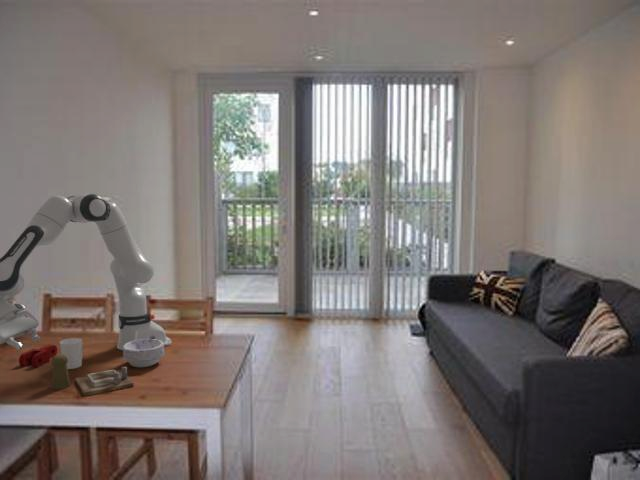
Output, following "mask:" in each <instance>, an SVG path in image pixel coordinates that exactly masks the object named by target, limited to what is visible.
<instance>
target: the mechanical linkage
mask: <svg viewBox="0 0 640 480" xmlns="http://www.w3.org/2000/svg"><path fill="white" fill-rule="evenodd" d="M56 355H58V348H57V345H55V344H48V345H46V346H43V347H40V348H32V349H29V350H27V351H25V352H23V353H21V354H20V356H19V358H18V364H19V366H20V367H28V366H30V365H31V366H32V367H34V368H39V367H42V366H44V365H47V364H48V363H50V362H51V361H50V359H52V358H53V357H54V356H56Z"/></svg>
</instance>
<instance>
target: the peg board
mask: <svg viewBox="0 0 640 480" xmlns="http://www.w3.org/2000/svg"><path fill="white" fill-rule="evenodd" d="M75 383H76V385H77V386H78V388H79V390H80V391H81V393H82V394H83V396H84V397H86V396H92V395H97V393H98V394H102V393H101V392H103V393H106V391H108V392H111V390H113V391H117V390H116V389H118V390H121V388H123V389H126V387H128V388H132V387H131V386H133V387H134V386H135V385H134V382H133V380H131V379H130V377H129V375H128V367H127V366H122V367H121V369H119V370H116V369H110V370H104V371H99V372H94V373H87V374H86V376H80V377H76V378H75Z"/></svg>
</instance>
